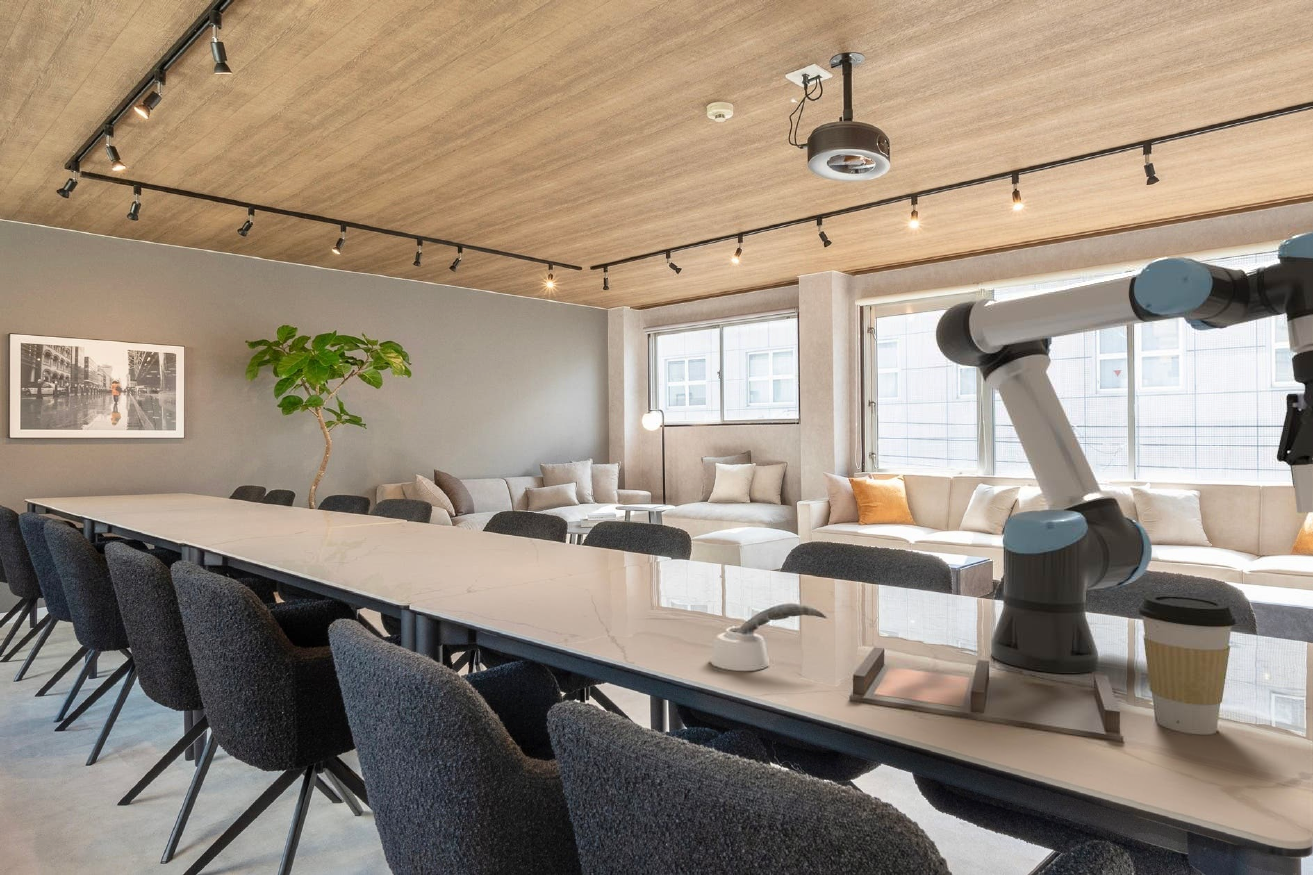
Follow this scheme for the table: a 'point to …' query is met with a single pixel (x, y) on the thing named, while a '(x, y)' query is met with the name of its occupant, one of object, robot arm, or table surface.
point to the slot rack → (990, 697)
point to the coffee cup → (1186, 659)
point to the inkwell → (752, 639)
